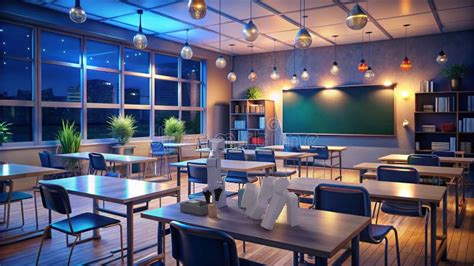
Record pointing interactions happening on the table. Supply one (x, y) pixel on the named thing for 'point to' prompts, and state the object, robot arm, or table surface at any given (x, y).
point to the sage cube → (194, 203)
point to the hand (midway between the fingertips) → (212, 202)
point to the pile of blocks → (270, 201)
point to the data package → (240, 197)
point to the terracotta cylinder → (212, 210)
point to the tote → (195, 208)
